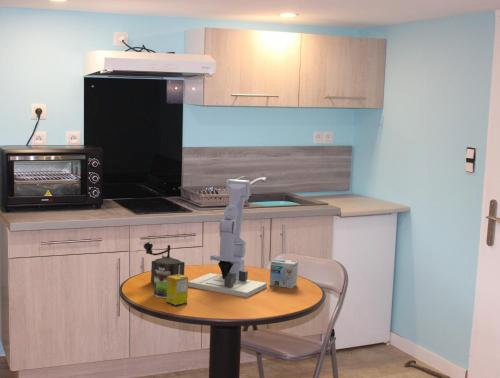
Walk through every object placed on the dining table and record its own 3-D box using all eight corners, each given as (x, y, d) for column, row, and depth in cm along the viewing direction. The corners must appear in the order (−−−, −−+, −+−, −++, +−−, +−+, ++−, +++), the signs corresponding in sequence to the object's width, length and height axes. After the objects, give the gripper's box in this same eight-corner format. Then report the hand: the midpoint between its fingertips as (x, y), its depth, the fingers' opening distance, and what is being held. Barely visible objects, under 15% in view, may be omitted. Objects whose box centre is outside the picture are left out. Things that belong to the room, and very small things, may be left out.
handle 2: (241, 279, 310) (241, 270, 310) (247, 280, 309) (247, 271, 309) (238, 280, 308) (239, 271, 308) (244, 281, 307) (245, 272, 307)
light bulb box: (268, 285, 312) (270, 260, 311) (274, 281, 318) (275, 258, 317) (292, 288, 308) (293, 264, 307) (297, 285, 314) (298, 261, 313)
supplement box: (178, 300, 281) (179, 273, 279) (187, 304, 276) (188, 277, 275) (165, 303, 277) (166, 275, 275) (175, 307, 272) (176, 279, 271)
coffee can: (172, 300, 281) (173, 264, 280) (148, 296, 285) (149, 261, 283) (183, 293, 291) (184, 259, 289) (160, 290, 294) (161, 256, 293)
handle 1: (226, 285, 299) (227, 275, 298) (233, 286, 298) (233, 277, 297) (224, 286, 297) (224, 277, 296) (230, 287, 295) (231, 278, 295)
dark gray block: (229, 281, 306) (229, 272, 305) (235, 282, 304) (236, 273, 304) (226, 282, 304) (227, 273, 303) (233, 283, 302) (233, 274, 302)
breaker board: (209, 277, 320) (210, 272, 319) (266, 287, 307) (266, 282, 307) (187, 286, 303) (187, 281, 302) (246, 297, 290) (246, 292, 290)
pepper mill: (166, 278, 315) (168, 237, 312) (184, 283, 308) (186, 242, 305) (140, 283, 303) (141, 242, 300) (158, 289, 296) (159, 246, 294)
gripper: (207, 246, 303) (205, 277, 305) (237, 251, 297) (235, 283, 298) (215, 244, 309) (213, 274, 311) (245, 248, 303) (243, 279, 305)
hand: (225, 278), depth 305 cm, fingers closed
